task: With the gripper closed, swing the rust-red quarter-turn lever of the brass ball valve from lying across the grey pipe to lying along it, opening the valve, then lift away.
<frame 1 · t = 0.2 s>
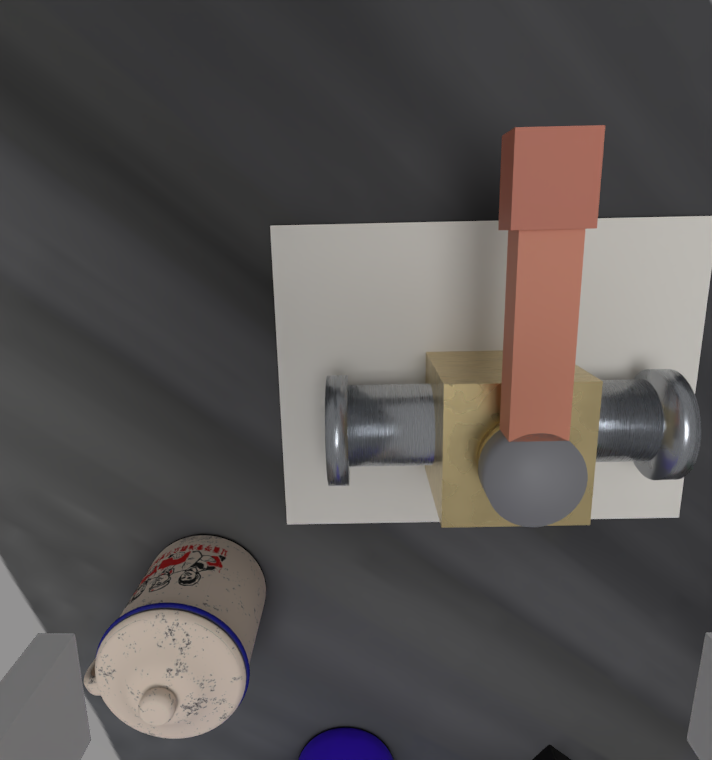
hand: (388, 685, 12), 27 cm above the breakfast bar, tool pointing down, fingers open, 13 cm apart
lever: (538, 340, 27), point 11 cm above the breakfast bar, hinge at 0.0°
teacup with lid: (191, 591, 43), on the breakfast bar
valve body: (483, 405, 39), resting on mounting board
mounting board: (484, 377, 38), on the breakfast bar
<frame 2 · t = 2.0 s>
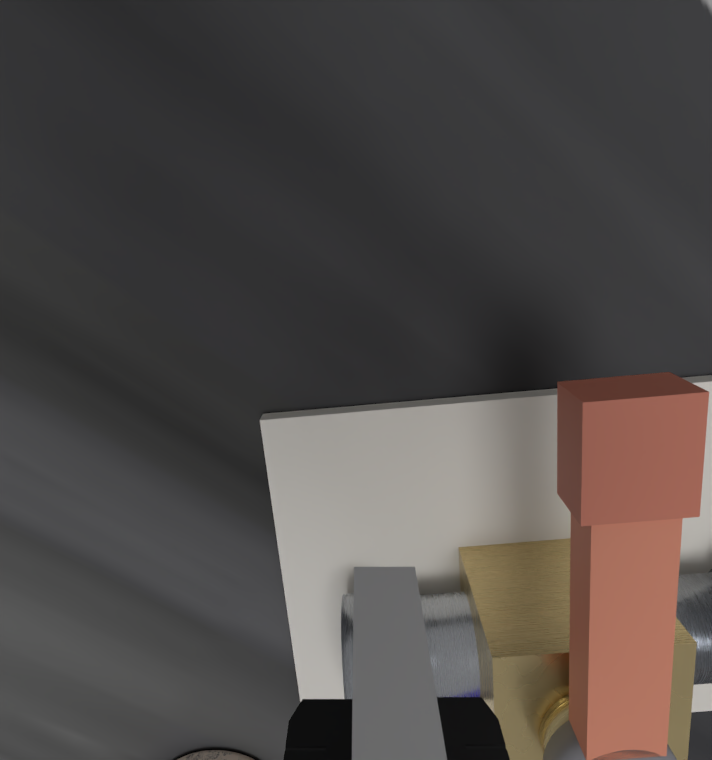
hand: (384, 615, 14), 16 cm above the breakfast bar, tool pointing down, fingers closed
lever: (619, 632, 20), point 11 cm above the breakfast bar, hinge at 0.0°
valve body: (529, 594, 33), resting on mounting board
mounting board: (529, 563, 32), on the breakfast bar
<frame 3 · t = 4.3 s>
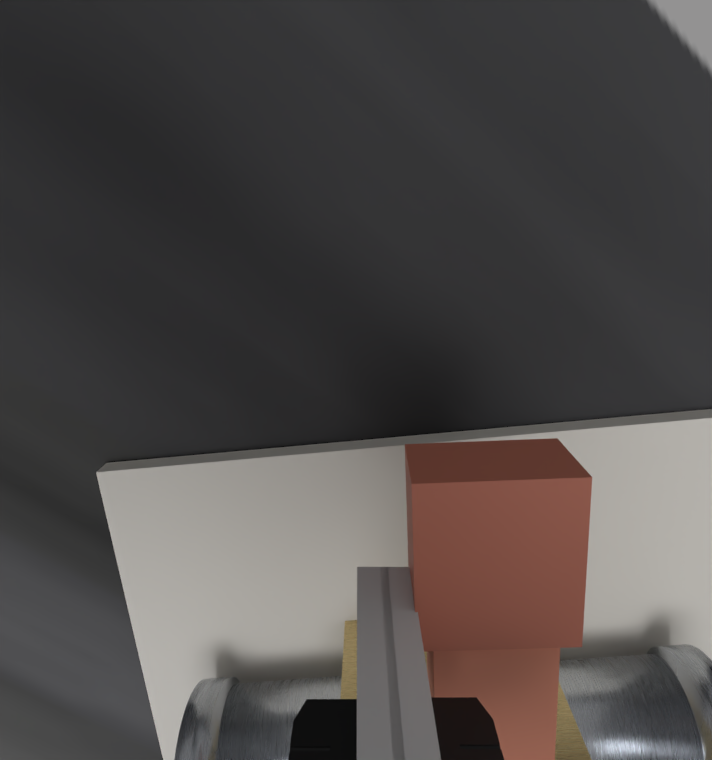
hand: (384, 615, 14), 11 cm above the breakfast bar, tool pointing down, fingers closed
valve body: (438, 673, 27), resting on mounting board
mounting board: (436, 637, 27), on the breakfast bar
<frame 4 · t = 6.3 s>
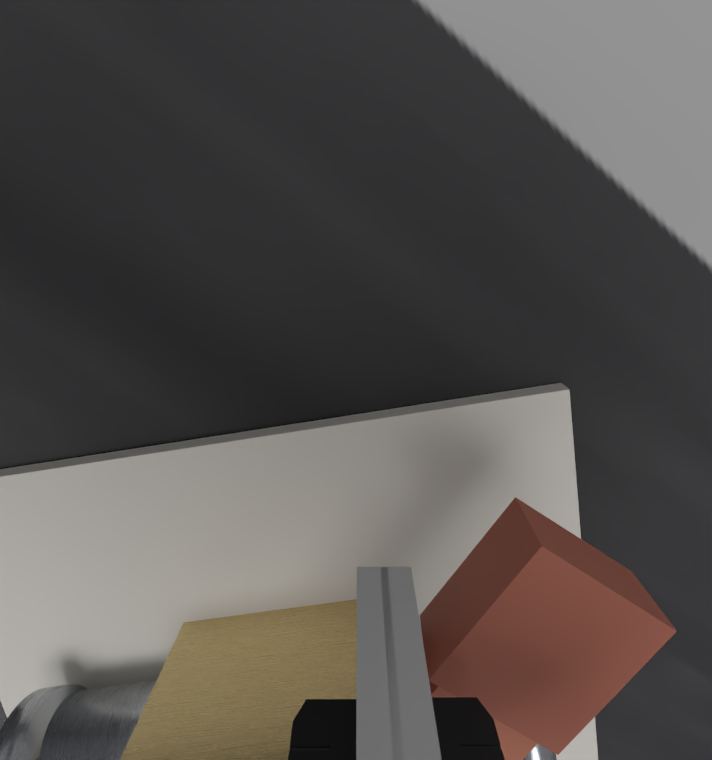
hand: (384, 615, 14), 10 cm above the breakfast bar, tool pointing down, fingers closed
valve body: (292, 669, 27), resting on mounting board
mounting board: (284, 633, 27), on the breakfast bar
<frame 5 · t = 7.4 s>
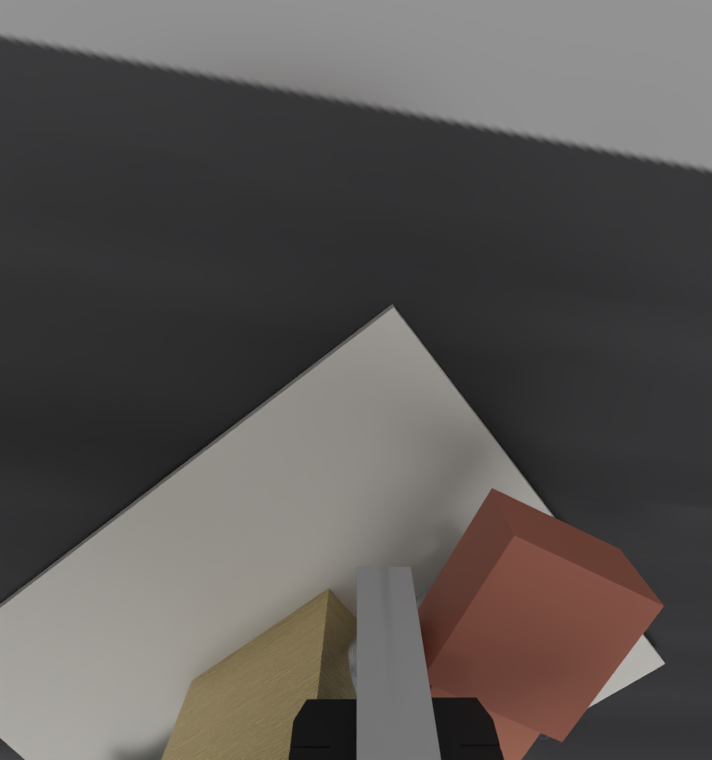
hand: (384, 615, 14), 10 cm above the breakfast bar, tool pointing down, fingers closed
valve body: (316, 678, 27), resting on mounting board
mounting board: (290, 650, 27), on the breakfast bar
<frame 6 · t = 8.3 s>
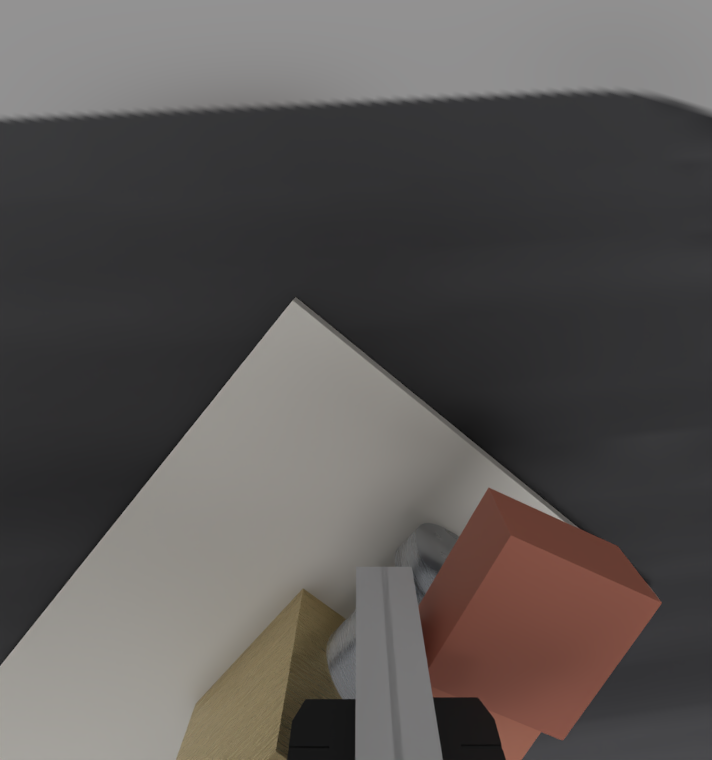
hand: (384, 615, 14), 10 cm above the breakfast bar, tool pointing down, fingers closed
valve body: (319, 679, 27), resting on mounting board
mounting board: (285, 656, 27), on the breakfast bar
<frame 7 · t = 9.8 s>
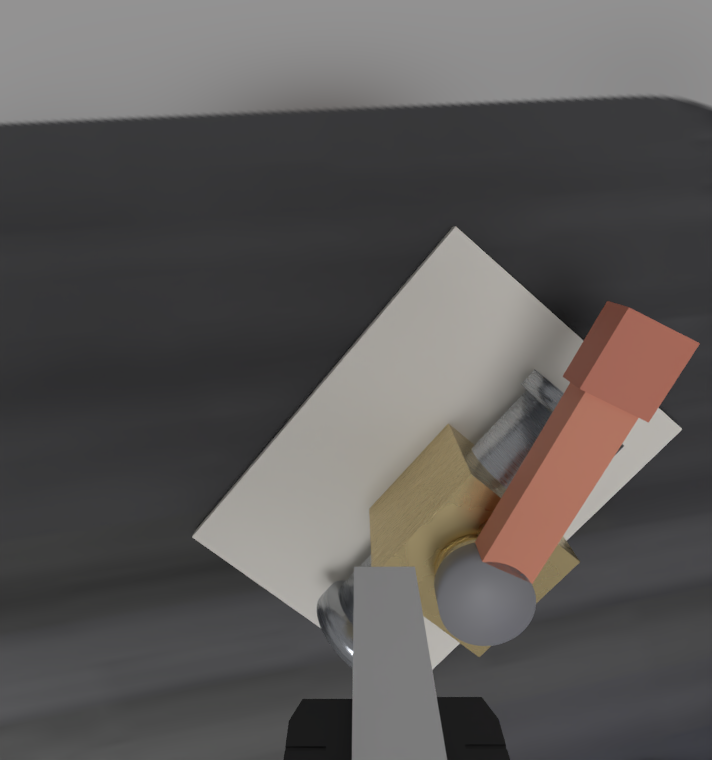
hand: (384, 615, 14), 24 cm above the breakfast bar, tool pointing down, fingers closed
lever: (549, 487, 28), point 11 cm above the breakfast bar, hinge at -75.9°
valve body: (450, 495, 40), resting on mounting board
mounting board: (428, 478, 40), on the breakfast bar
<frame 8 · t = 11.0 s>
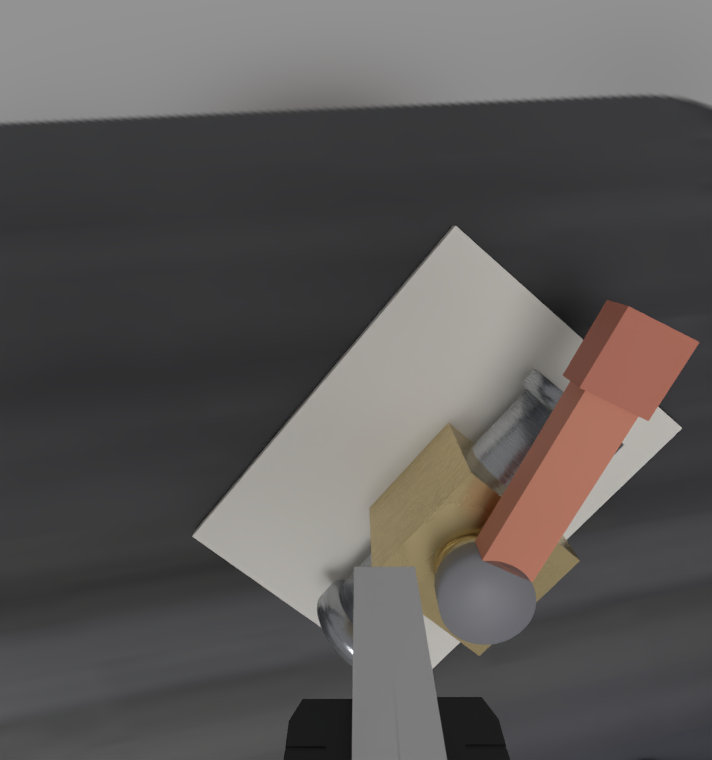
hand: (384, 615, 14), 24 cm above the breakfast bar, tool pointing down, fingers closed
lever: (549, 486, 28), point 11 cm above the breakfast bar, hinge at -75.9°
valve body: (450, 494, 40), resting on mounting board
mounting board: (428, 477, 40), on the breakfast bar
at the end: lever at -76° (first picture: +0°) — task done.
